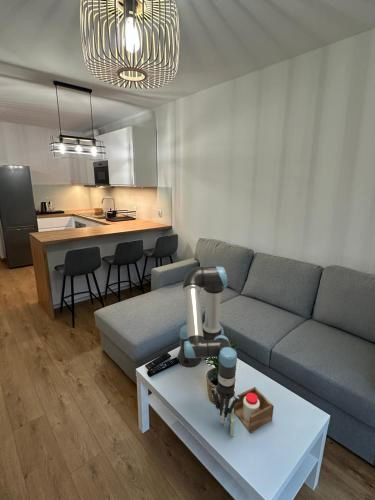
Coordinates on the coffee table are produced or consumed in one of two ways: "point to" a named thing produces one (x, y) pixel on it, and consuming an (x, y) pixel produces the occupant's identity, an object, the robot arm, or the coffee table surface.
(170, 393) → the coffee table surface
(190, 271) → the robot arm
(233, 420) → the door
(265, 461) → the coffee table surface
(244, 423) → the box
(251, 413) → the pill bottle
